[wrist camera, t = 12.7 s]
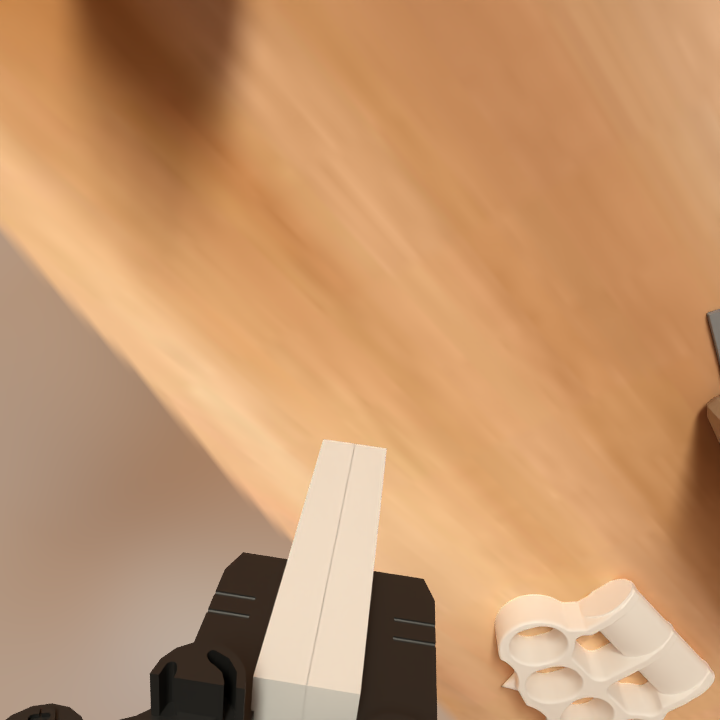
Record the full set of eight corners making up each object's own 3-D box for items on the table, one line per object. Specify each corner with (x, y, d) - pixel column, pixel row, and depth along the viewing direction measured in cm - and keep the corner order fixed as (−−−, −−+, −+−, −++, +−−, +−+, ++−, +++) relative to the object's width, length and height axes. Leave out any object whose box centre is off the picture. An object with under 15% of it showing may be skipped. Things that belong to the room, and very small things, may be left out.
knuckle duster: (726, 677, 53) (580, 746, 58) (600, 542, 49) (455, 628, 54) (744, 713, 50) (589, 783, 55) (612, 572, 46) (457, 660, 51)
